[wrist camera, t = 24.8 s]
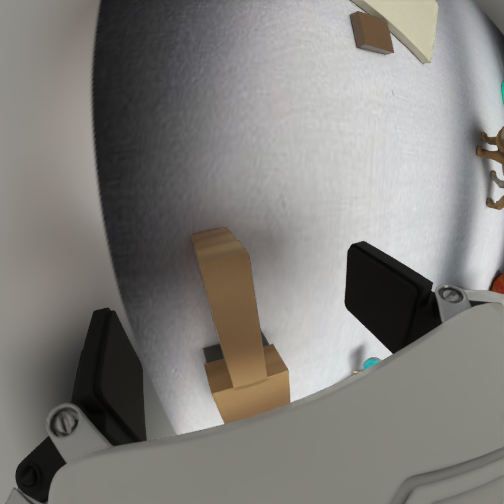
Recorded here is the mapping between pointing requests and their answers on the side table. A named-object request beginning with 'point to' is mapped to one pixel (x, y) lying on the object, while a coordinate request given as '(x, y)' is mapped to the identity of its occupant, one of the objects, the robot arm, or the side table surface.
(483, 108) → the side table surface
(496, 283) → the fruit
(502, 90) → the candle
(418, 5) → the tile
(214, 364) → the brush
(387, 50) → the mud flake
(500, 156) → the lion figurine
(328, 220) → the side table surface
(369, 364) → the perfume bottle
